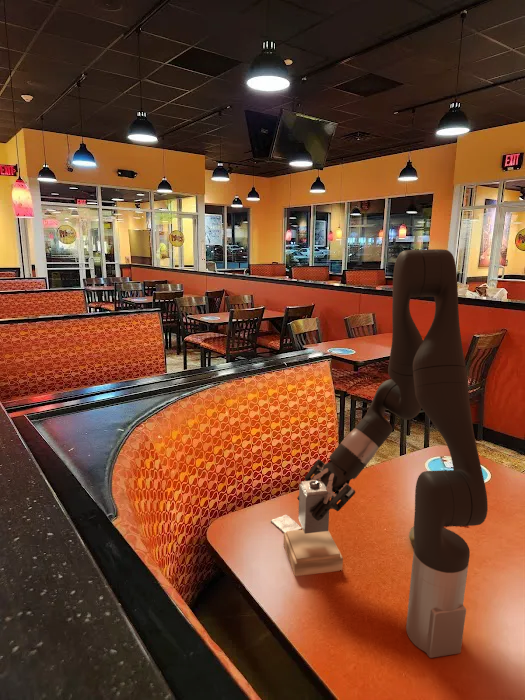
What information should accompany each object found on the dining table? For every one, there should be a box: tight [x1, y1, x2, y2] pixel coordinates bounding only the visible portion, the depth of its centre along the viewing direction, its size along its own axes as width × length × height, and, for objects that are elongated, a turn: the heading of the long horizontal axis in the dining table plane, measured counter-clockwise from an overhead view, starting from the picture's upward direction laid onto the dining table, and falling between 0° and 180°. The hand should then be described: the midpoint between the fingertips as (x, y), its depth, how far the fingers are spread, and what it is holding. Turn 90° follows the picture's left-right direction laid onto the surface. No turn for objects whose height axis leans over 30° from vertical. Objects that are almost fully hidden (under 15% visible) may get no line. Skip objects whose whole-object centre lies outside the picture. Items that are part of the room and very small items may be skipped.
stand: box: [283, 528, 344, 577], centre depth 106 cm, size 11×11×4 cm
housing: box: [298, 480, 330, 534], centre depth 104 cm, size 6×6×11 cm
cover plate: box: [270, 514, 303, 534], centre depth 119 cm, size 7×5×1 cm
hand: (307, 509), depth 103 cm, fingers closed on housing, 6 cm apart
